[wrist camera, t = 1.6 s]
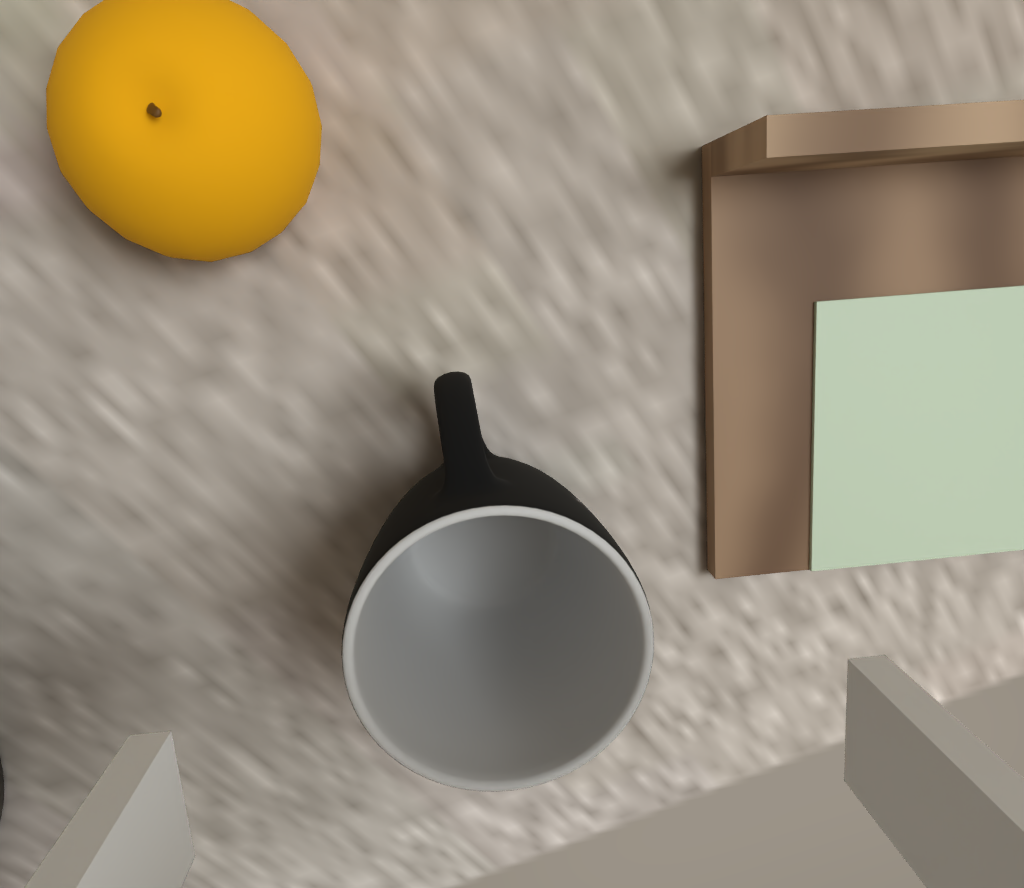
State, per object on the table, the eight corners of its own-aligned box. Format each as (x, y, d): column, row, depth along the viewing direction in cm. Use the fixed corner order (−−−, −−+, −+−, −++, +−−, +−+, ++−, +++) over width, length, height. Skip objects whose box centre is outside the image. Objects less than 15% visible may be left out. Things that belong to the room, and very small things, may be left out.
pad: (809, 569, 32) (811, 571, 32) (814, 301, 29) (816, 301, 29) (1103, 539, 33) (1107, 541, 33) (1133, 276, 30) (1137, 277, 30)
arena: (707, 569, 33) (764, 635, 27) (701, 146, 29) (767, 115, 23) (1149, 525, 34) (1294, 578, 28) (1200, 114, 30) (1380, 78, 24)
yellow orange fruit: (173, -25, 26) (68, -138, 19) (375, 112, 28) (351, 55, 20) (66, 183, 27) (-71, 151, 20) (267, 303, 29) (206, 314, 22)
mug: (605, 613, 33) (673, 761, 23) (397, 653, 32) (376, 822, 23) (563, 334, 30) (620, 366, 20) (334, 375, 30) (279, 428, 20)
